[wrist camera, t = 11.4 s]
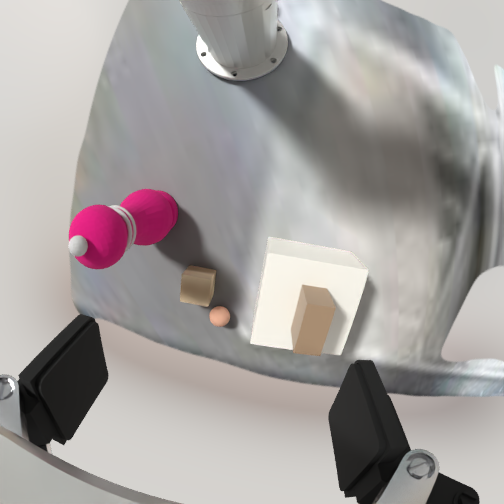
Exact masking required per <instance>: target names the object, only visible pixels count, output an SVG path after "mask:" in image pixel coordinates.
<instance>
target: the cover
mask: <svg viewBox="0 0 504 504" xmlns="http://www.w3.org/2000/svg"><path fill="white" fill-rule="evenodd" d="M368 273H369V270H368V269H367V268H366V266H365V265H364V264H363V263H362V262H361V261H360V260H359V259H358V258H357V257H356V256H355V255H354V254H353V253H352V252H350V251H345V250H340V249H334V248H329V247H323V246H318V245H313V244H307V243H302V242H296V241H291V240H285V239H279V238H274V237H268V240H267V246H266V251H265V257H264V262H263V268H262V273H261V278H260V284H259V289H258V294H257V300H256V305H255V310H254V316H253V325H252V333H251V341H250V344H256V345H262V346H269V347H276V348H283V349H290V350H293V353H298V354H307V355H315V356H320V355H321V353H323V354H333V355H341V353H342V351H343V348H344V345H345V343H346V340H347V337H348V334H349V332H350V329H351V326H352V323H353V320H354V317H355V314H356V311H357V308H358V305H359V302H360V299H361V296H362V293H363V289H364V286H365V283H366V279H367V276H368Z"/></svg>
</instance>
